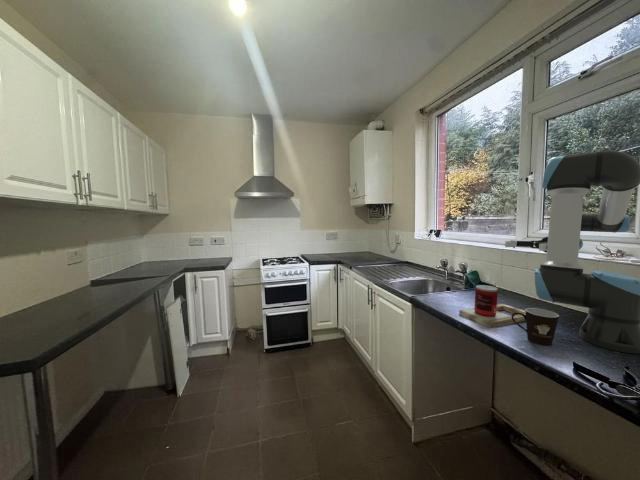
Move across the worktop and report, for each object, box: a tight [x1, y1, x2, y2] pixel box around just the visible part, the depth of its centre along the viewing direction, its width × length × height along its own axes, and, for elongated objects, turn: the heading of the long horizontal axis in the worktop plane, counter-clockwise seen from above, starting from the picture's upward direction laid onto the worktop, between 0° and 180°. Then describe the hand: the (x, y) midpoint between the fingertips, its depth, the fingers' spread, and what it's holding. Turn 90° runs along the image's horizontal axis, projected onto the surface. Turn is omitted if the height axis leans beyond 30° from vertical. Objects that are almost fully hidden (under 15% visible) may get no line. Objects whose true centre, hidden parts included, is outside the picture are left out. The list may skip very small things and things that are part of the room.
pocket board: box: [458, 303, 526, 329], centre depth 111 cm, size 14×26×2 cm, turn 110°
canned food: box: [473, 284, 499, 317], centre depth 108 cm, size 8×8×11 cm
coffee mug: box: [511, 307, 560, 347], centre depth 90 cm, size 12×9×10 cm
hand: (522, 245), depth 112 cm, fingers open, 13 cm apart
